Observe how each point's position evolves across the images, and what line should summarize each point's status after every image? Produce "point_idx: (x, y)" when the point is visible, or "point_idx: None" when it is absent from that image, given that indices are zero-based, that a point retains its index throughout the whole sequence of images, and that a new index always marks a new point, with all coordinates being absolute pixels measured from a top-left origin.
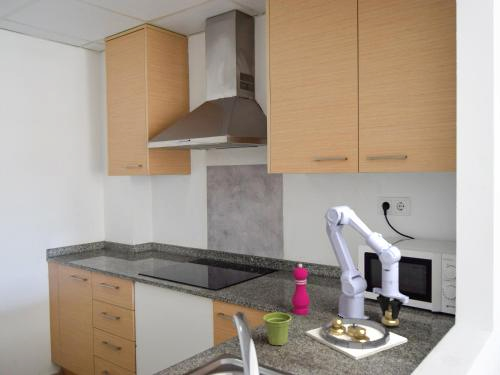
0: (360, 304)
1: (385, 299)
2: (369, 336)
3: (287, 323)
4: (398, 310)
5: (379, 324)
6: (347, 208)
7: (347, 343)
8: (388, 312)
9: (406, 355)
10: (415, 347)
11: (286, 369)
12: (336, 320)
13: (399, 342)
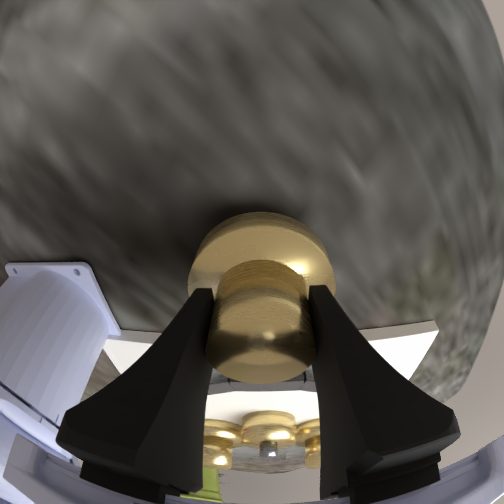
0: (73, 390)
1: (185, 461)
2: (310, 405)
3: (218, 496)
4: (355, 347)
5: (294, 388)
6: None
7: None
8: (279, 378)
9: (448, 370)
10: (465, 325)
11: (294, 469)
12: (220, 468)
13: (418, 360)
